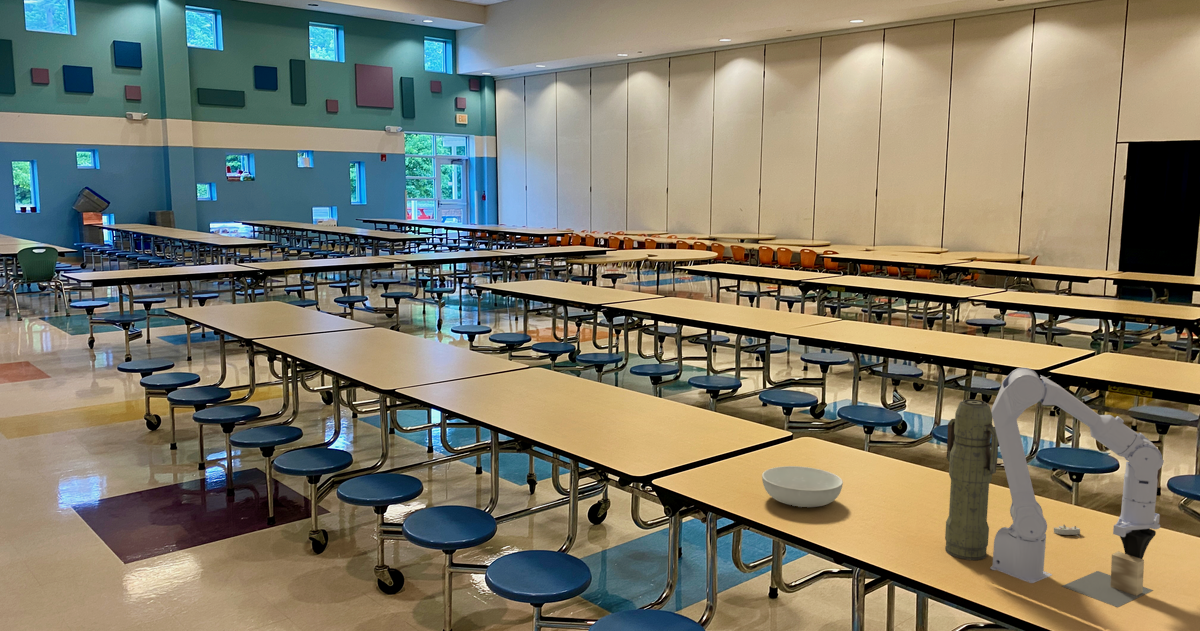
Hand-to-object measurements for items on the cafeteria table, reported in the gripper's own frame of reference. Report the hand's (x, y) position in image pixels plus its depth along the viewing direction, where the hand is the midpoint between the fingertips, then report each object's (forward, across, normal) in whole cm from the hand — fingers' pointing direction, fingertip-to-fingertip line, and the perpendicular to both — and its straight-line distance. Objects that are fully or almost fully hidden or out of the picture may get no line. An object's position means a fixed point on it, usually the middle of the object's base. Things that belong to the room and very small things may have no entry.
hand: (1133, 562), depth 172 cm
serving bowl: (+6, -18, +74) cm, 76 cm away
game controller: (+6, +18, +21) cm, 29 cm away
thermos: (+6, -12, +30) cm, 33 cm away
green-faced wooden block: (+5, -2, 0) cm, 6 cm away
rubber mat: (+6, -4, +2) cm, 8 cm away
